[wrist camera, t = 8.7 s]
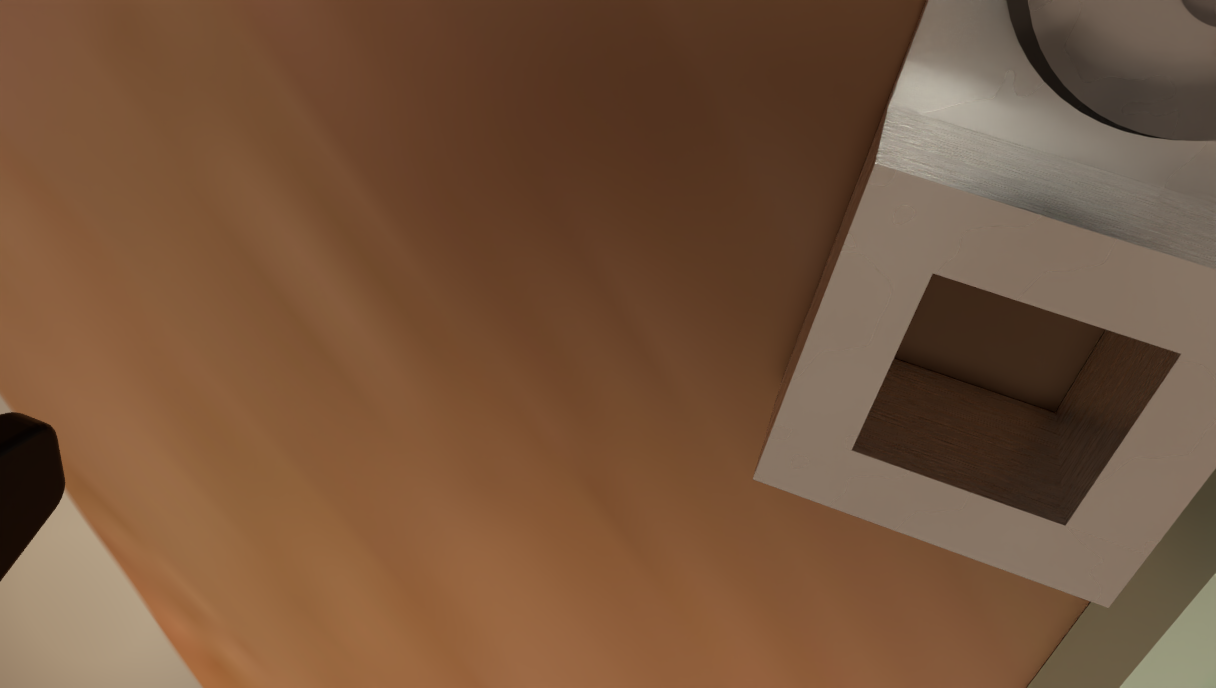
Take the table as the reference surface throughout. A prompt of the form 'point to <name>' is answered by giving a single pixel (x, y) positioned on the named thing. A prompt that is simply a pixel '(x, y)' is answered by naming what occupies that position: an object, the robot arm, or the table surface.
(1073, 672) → the tray
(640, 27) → the table surface
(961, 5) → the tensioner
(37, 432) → the robot arm
